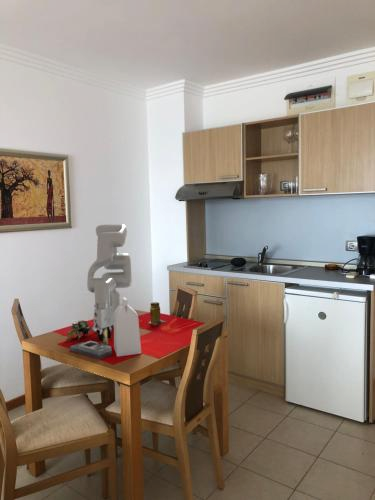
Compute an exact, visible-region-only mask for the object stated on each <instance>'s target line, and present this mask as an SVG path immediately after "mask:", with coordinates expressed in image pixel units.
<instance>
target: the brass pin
mask: <svg viewBox="0 0 375 500" xmlns="http://www.w3.org/2000/svg"><path fill="white" fill-rule="evenodd" d="M102 334H103V342H101V344H104V345H108V346H109V339H108V333H107V327H106V328H103V329H102Z"/></svg>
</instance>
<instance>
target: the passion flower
mask: <svg viewBox="0 0 375 500" xmlns="http://www.w3.org/2000/svg"><path fill="white" fill-rule="evenodd" d="M71 325H72V326H71V329H70V330H68V333H67V337H68V338H72V337H73V335H74V338H77V337H78V339H77V340H78V341H79V340H80V338H81V337H82V336H86V335H87V336H88V335H90V333H89V332H94V331H93V330H92V328H91V326H90V324H88V322H87V320H78V321H77V322H75V323H74V322H73V323H71Z"/></svg>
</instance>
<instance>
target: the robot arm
mask: <svg viewBox="0 0 375 500" xmlns="http://www.w3.org/2000/svg"><path fill="white" fill-rule="evenodd" d="M127 232H128V231H127V227H126V225H125V224H122V223H116V224H113V223H112V224H111V223H110V224H100V225H97V226H96V227H95V234H96V236H97V241H96V243H97V244H96V246H97V249H96V260H95V261H94V262H93V263H92V264H91V266H90V267H89V269H88V271H87V280H86V284H87V286H86V287H87V290H88V291H89V292H90V293H94V304H93V307H94V310H93V327H92V328H91V329H92V330H93V331H92V332H95V333H96V335H97V341H98V342H100V343H102V342H103V334H102V329H103V328H106V327H107V333H108V340H111V339H112V329H113V328H114V311H115V310H116V309H117V307H118V306H120V305H121V304H122V302H121V295H120V292H119V291H118V289H127V288H130V287H131V286H132V263H131V256H130V255H129V253H126V252H122V253H119V252H118V248H121V247H122V248H123V247H124V245H125V244H126V238H127V234H128V233H127ZM102 267H103V268H104V269H105V270H111V271H108V272H104V273H103V274H102V275H101V277H94V275H95V273H96V272H97V271H98V270H99V269H100V268H102ZM114 270H116V271H114ZM117 270H118V271H117ZM119 270H120V271H119ZM121 270H122V271H121Z"/></svg>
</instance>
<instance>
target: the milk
mask: <svg viewBox="0 0 375 500" xmlns="http://www.w3.org/2000/svg"><path fill="white" fill-rule="evenodd" d="M139 321H140V320H139V315H138V313H137V311H136V310H135V309H134V308H133V307H132V306H131V305H129V304H128V299H127V297H125V296H124V297H123V296H122V302H121V305H120V306H118V307H117V309H116V310H115V311H114V327H113V345H114V346H113V348H114V351H115V355H116V357H123V356H124V357H125V356H131V355H137V354H138V355H139V354H142V345H141V334H140V324H139Z"/></svg>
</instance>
